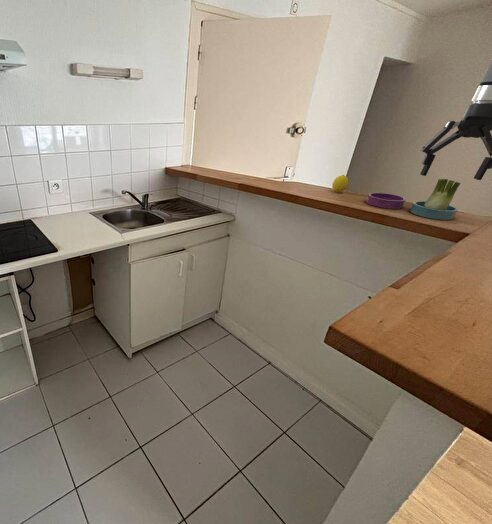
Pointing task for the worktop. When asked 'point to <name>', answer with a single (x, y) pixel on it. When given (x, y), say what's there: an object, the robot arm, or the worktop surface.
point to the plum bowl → (385, 200)
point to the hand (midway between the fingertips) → (449, 177)
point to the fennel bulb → (442, 195)
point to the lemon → (340, 183)
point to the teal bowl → (433, 211)
